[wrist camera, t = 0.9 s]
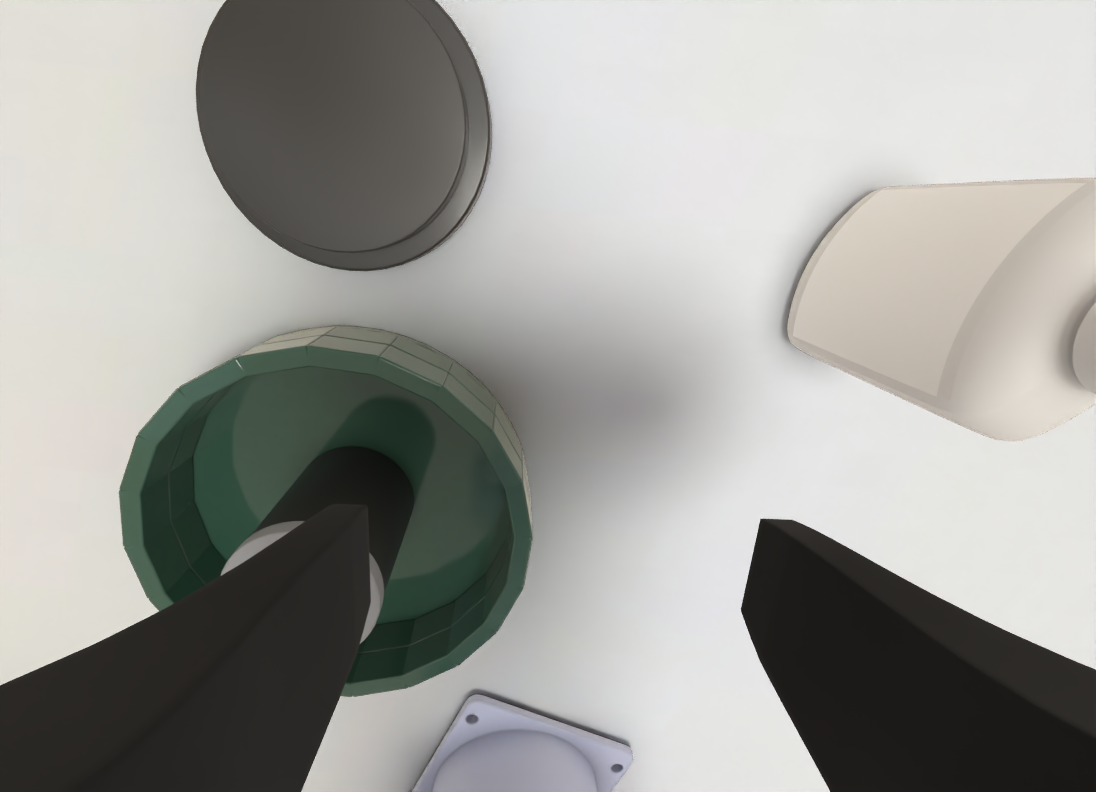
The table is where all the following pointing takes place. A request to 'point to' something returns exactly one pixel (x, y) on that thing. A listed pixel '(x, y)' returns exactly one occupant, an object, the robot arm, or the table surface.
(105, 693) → the robot arm
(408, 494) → the black canister
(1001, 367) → the eye dropper bottle
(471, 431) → the tin
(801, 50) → the table surface
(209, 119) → the gray stand
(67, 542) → the table surface
